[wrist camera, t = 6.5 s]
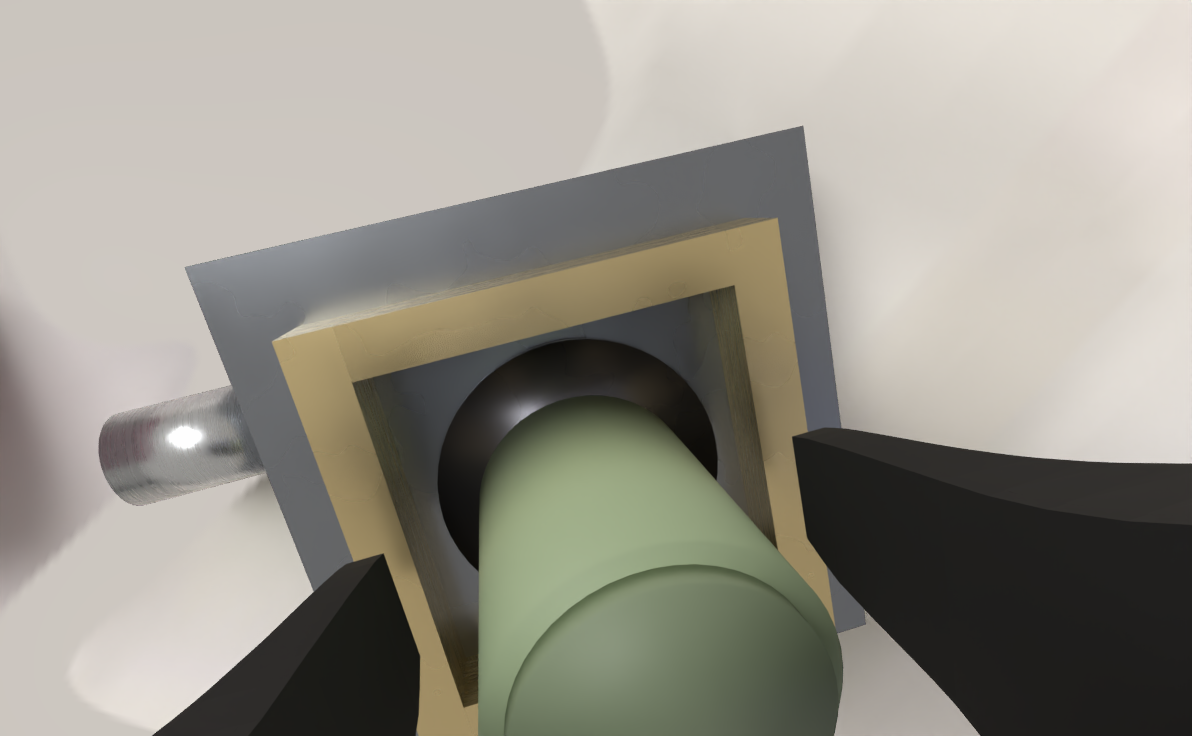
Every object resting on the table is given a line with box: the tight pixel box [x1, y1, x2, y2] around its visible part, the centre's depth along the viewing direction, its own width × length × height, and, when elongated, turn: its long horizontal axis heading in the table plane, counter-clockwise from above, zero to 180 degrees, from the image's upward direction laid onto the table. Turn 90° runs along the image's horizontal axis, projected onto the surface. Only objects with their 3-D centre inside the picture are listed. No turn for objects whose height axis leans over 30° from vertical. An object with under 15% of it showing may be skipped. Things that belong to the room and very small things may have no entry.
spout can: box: [478, 395, 843, 736], centre depth 10 cm, size 5×5×8 cm
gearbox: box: [99, 126, 866, 736], centre depth 14 cm, size 15×12×4 cm
